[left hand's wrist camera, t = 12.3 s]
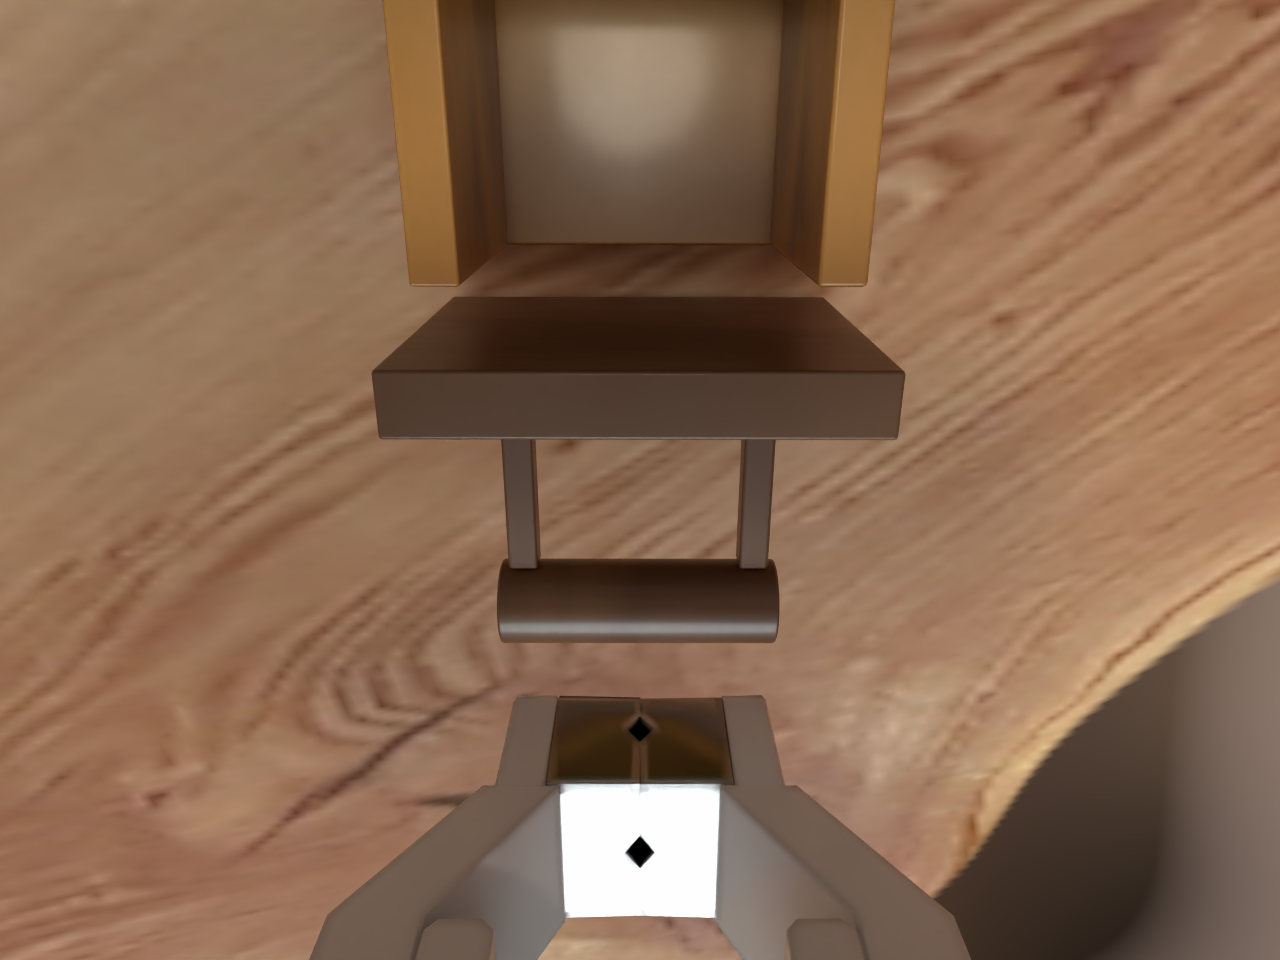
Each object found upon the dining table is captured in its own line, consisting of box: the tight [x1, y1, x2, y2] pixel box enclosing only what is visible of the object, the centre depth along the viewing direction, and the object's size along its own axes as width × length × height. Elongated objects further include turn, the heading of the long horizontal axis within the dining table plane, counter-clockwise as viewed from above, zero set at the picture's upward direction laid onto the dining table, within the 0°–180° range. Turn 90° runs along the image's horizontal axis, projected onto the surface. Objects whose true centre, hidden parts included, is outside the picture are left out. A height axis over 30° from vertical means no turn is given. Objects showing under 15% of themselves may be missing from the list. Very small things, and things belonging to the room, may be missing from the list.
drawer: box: [372, 0, 905, 643], centre depth 16 cm, size 21×9×7 cm, turn 0°
